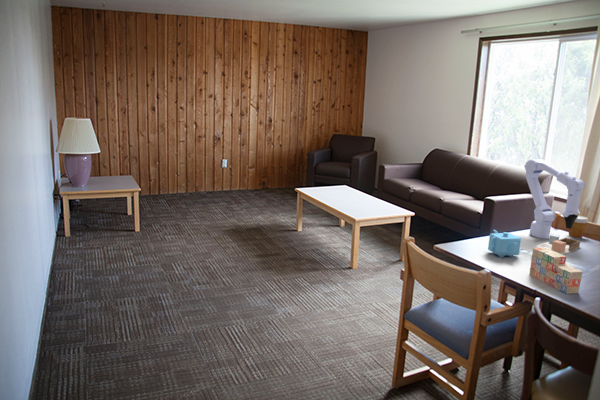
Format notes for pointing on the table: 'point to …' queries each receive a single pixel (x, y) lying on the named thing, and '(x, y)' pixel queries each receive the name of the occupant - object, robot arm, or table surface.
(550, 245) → the deck
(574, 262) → the table surface
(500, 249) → the teapot
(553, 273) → the stack of blocks
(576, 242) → the walnut cubby
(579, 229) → the disposable coffee cup
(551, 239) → the white block
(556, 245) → the terracotta cube
